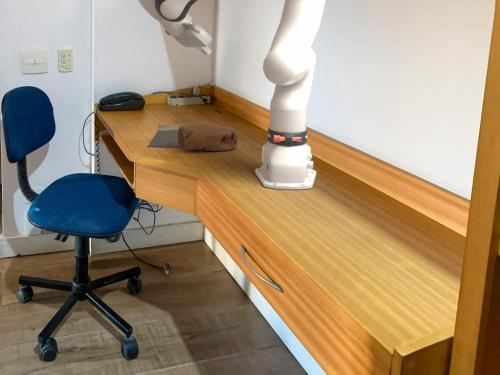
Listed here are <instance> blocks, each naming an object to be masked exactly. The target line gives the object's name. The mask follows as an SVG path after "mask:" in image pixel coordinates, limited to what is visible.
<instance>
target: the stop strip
mask: <svg viewBox="0 0 500 375" xmlns="http://www.w3.org/2000/svg"><path fill="white" fill-rule="evenodd" d="M187 125H188V124H158V125H157V131H179V128H180V126H187Z"/></svg>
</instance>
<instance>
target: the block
mask: <svg viewBox="0 0 500 375" xmlns="http://www.w3.org/2000/svg"><path fill="white" fill-rule="evenodd" d="M186 125H187V126H180V128H179V131H178V143H179V146H180V147H181V148H180V149H184V150H189V151H190V150H192V151H195V150H196V151H197V150H198V151H205V152H206V151H209V152H225V151H232V150H234V149H236V148H237V146H238V142H239V134H238V131H237V130H236V129H235V128H234V127H233V126H224V125H223V126H222V125H205V124H204V125H203V124H202V125H200V124H198V125H197V124H195V125H193V124H192V125H191V124H186Z"/></svg>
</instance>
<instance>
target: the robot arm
mask: <svg viewBox="0 0 500 375" xmlns="http://www.w3.org/2000/svg"><path fill="white" fill-rule="evenodd" d="M197 1H198V0H138V2H139V4H140V5H141V6H142V8H143V9H144V10H145V11H146V12H147V14H149V15H150V16H151V18H153V19H154V20H156V21H158V22H159V24H160V25H161V27H162V28H163V29H164V32H165V33H166V34H167V35H168V36H171V37H172V38H173V39H174V40H176V42H178V43H179V44H180V45H182V46H183V47H185V48H196V49H197V50H198V51H200V52H202V54H203V55H210V54H211V53H212V50H211V49H210V48H209V45H210V43H212V41H213V38H212V36H211V35H210V34H209V33H208V32H207V31H206V30H204V28H202V26H200V25H199V24H197V23H193V22H192V21H193V17H192V16H191V15H190V14H189V10H190V9H191V7H192V6H193V5H194V4H195V3H197ZM325 4H326V0H284V5H283V9H282V13H281V16H280V21H279V24H278V26H277V29H276V31H275V35H274V37H273V39H272V42H271V45H270V48H269V51H268V53H267V55H266V57H265V58H264V60H263V65H262V71H263V73H264V75H265V78H266V79H267V80H268V82H271V83H273V84H275V87H274V92H273V95H272V98H271V100H270V105H269V106H270V107H269V108H270V109H269V127H268V128H267V132H266V134H267V142H266V143H265V144H264V145H262V151H261V161H260V162H261V163H260V164H261V165H260V167H257V168H255V169H254V173H255V175H256V176H257V178H258V179H259V181H260V183H261V184H262V185H263V187H264V188H265V187H266V188H269V189H277V190H308V189H312V188H313V186H314V182H315V179H316V176H317V171H316V170H315V169H314V161H313V160H312V159H313V153H311V152H312V151H311V149H312V148H311V147H310V145H308V144H307V143H308V129H307V119H308V106H309V98H310V94H311V91H312V90H311V89H312V84H313V78H314V71H315V68H316V65H317V55H316V53H315V51H314V49H313V48H311V46H312V44H313V42H314V39H315V37H316V34H317V32H318V31H319V28H320V26H321V22H322V21H321V20H322V17H323V14H324V13H323V12H324V8H325Z"/></svg>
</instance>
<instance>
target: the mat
mask: <svg viewBox="0 0 500 375" xmlns="http://www.w3.org/2000/svg"><path fill="white" fill-rule="evenodd" d="M147 148H159V149H160V148H162V149H164V148H166V149H170V148H171V149H182V148H181V147H180V146H179V143H178V131H158V130H157V131H156V133H155V134H154V136H153V137H152V139H151V140H150V142H149V143H148V145H147Z"/></svg>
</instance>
